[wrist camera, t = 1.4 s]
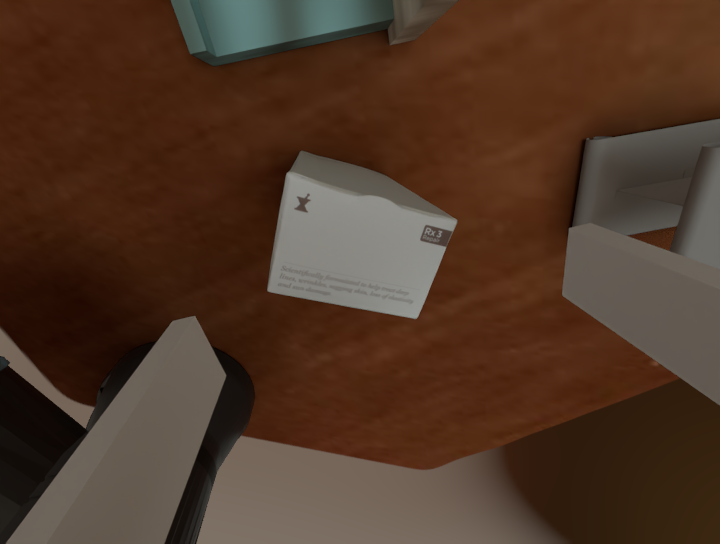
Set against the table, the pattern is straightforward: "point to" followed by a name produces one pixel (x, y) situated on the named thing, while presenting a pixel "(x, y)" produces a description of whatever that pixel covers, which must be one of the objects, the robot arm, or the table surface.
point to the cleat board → (295, 24)
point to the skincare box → (355, 238)
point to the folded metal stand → (656, 186)
